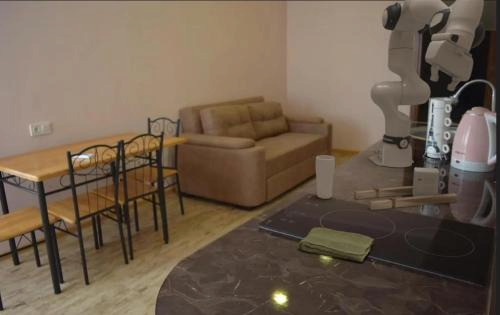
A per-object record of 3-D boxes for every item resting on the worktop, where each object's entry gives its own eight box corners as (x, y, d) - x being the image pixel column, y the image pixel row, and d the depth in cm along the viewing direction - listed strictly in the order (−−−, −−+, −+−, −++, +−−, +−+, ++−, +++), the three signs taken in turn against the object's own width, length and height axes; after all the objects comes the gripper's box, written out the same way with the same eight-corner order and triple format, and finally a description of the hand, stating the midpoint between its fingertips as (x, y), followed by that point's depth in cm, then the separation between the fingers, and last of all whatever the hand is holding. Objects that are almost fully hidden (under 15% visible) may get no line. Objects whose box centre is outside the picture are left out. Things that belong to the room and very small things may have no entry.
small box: (435, 196, 144) (438, 168, 142) (437, 201, 139) (440, 172, 136) (412, 194, 147) (414, 166, 144) (412, 199, 141) (414, 170, 139)
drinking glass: (333, 200, 142) (335, 159, 139) (314, 199, 144) (315, 159, 140) (333, 194, 149) (334, 155, 145) (315, 193, 150) (316, 155, 146)
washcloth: (364, 266, 97) (365, 254, 96) (296, 252, 105) (296, 241, 104) (374, 244, 108) (375, 233, 108) (312, 233, 116) (312, 223, 116)
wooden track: (354, 197, 145) (354, 189, 144) (432, 190, 150) (433, 182, 150) (371, 210, 132) (371, 201, 131) (456, 201, 138) (457, 192, 137)
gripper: (464, 55, 136) (451, 94, 137) (429, 32, 126) (415, 74, 127) (482, 55, 131) (468, 95, 132) (447, 31, 121) (432, 75, 121)
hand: (442, 85), depth 129 cm, fingers open, 8 cm apart
